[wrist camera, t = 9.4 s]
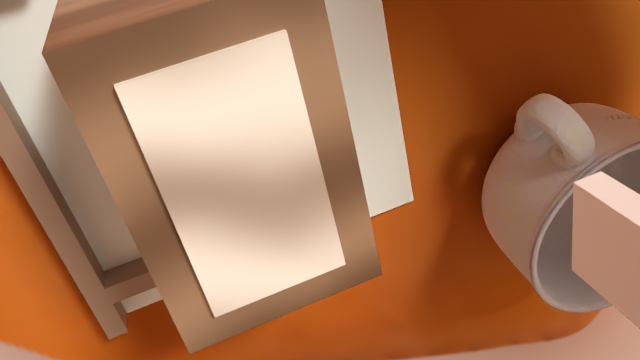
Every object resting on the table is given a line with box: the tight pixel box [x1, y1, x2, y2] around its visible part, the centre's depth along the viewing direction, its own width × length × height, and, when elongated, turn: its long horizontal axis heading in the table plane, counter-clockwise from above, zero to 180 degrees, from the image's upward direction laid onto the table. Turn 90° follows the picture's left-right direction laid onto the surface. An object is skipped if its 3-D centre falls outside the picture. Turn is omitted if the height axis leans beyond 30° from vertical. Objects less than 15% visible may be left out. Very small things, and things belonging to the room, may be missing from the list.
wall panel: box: [0, 0, 414, 340], centre depth 26 cm, size 18×20×2 cm
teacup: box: [482, 93, 640, 313], centre depth 32 cm, size 14×11×8 cm
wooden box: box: [42, 0, 382, 354], centre depth 23 cm, size 12×8×9 cm, turn 13°
